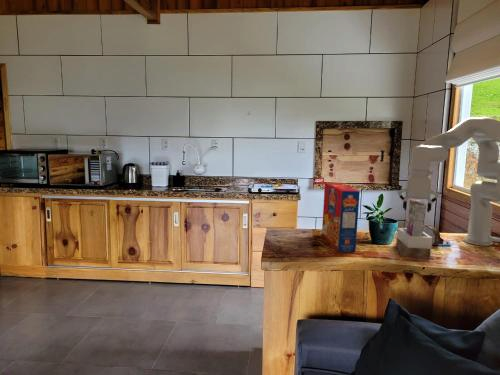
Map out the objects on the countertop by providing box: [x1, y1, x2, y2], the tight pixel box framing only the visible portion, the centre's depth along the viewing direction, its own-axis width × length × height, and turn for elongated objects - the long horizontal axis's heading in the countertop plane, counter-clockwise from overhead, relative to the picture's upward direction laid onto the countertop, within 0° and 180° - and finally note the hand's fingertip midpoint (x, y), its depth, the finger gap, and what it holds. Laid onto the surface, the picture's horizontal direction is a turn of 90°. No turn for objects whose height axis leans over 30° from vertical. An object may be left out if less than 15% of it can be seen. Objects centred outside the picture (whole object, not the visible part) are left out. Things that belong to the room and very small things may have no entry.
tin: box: [423, 224, 441, 246], centre depth 188 cm, size 15×3×8 cm, turn 178°
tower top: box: [396, 227, 433, 250], centre depth 173 cm, size 10×16×5 cm, turn 175°
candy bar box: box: [406, 198, 427, 237], centre depth 171 cm, size 11×5×16 cm, turn 169°
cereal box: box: [321, 182, 361, 253], centre depth 182 cm, size 28×8×28 cm, turn 4°
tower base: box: [395, 237, 432, 260], centre depth 173 cm, size 12×18×4 cm, turn 164°
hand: (416, 210), depth 171 cm, fingers open, 9 cm apart
